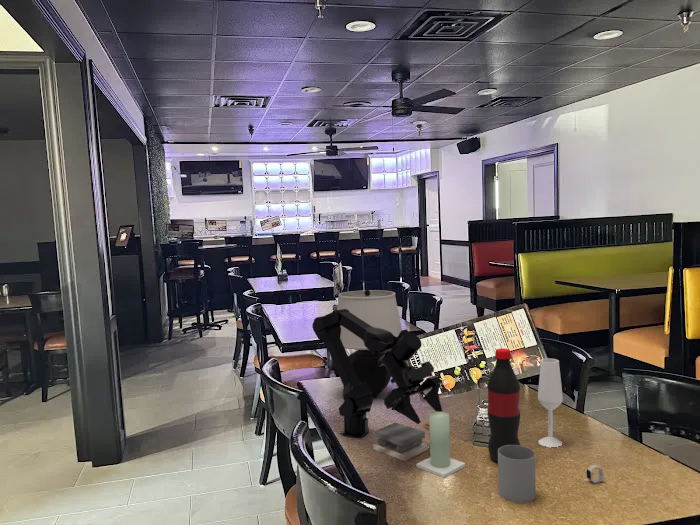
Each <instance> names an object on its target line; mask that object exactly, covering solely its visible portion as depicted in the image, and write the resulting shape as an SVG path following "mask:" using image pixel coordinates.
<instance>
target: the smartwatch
mask: <svg viewBox="0 0 700 525" xmlns="http://www.w3.org/2000/svg"><path fill="white" fill-rule="evenodd" d="M595 469H598V476H597V478H596V479H593V477H594V476H593V474H594V472H593V470H595ZM604 475H605V473H604V471H603V469H602V468H601V467H600V466H599V465H596V464H593V465H592V464H591V465H590V466H589V467H588V468H586V478H587V479H588V480H589V481H590V482H592V483H594V484H598V483H601V481H602V480H603V479H604ZM597 482H598V483H597Z"/></svg>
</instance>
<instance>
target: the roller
mask: <svg viewBox="0 0 700 525" xmlns="http://www.w3.org/2000/svg"><path fill="white" fill-rule="evenodd" d="M428 420H429V429H428V431H429V454H430V456H429V457H430V462H431V465H432V466H434V467H438V468H445V467H448V466H450V464H451V462H450V458H451V436H450V434H451V432H450V430H451V429H450V414H449V413H448V412H445V411H443V412H436V411H432V412H429V414H428Z"/></svg>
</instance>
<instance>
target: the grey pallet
mask: <svg viewBox="0 0 700 525" xmlns="http://www.w3.org/2000/svg"><path fill="white" fill-rule="evenodd" d="M374 437H376V438H377V442H376V443H374V444H372V450H374V451H377V452H380V453H382V452H383V454H386V455H388V456H391V457H393V458H395V457H396V459H399V460H401V461H403V462H406V461H408V460H410V459H412V458H414V457H416V456H418V455H420V454H422V453H424V452H426V451H428V450H429V445H428V444H424V443H423V439H425V437H426V432H425V431H423V430H421V429H418V428H414V427H411V426H408V425H405V424H402V423H398V422H394V423H390V424H389V425H387V426H383V427H382V428H379V429H377V430H374Z"/></svg>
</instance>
